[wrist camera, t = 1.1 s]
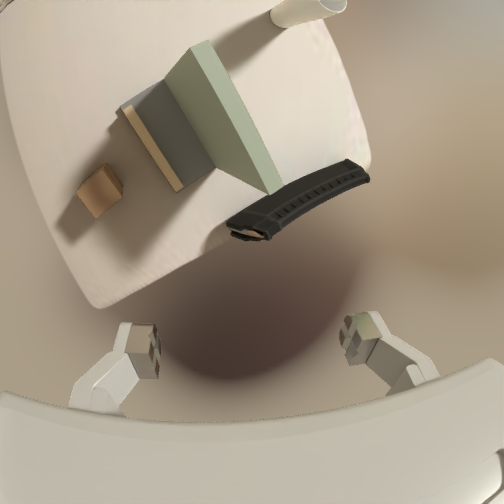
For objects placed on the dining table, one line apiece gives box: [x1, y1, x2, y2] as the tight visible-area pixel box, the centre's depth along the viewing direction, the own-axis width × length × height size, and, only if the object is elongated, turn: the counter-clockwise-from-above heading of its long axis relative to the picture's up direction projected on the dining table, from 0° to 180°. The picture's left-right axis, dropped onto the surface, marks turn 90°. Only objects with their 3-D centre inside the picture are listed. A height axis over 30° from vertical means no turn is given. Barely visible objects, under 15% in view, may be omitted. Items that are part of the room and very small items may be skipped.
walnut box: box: [75, 163, 123, 218], centre depth 37 cm, size 6×5×8 cm
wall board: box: [120, 40, 284, 195], centre depth 34 cm, size 10×18×21 cm, turn 29°
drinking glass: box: [270, 0, 347, 28], centre depth 33 cm, size 7×7×15 cm
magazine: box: [226, 159, 370, 241], centre depth 52 cm, size 17×3×30 cm
